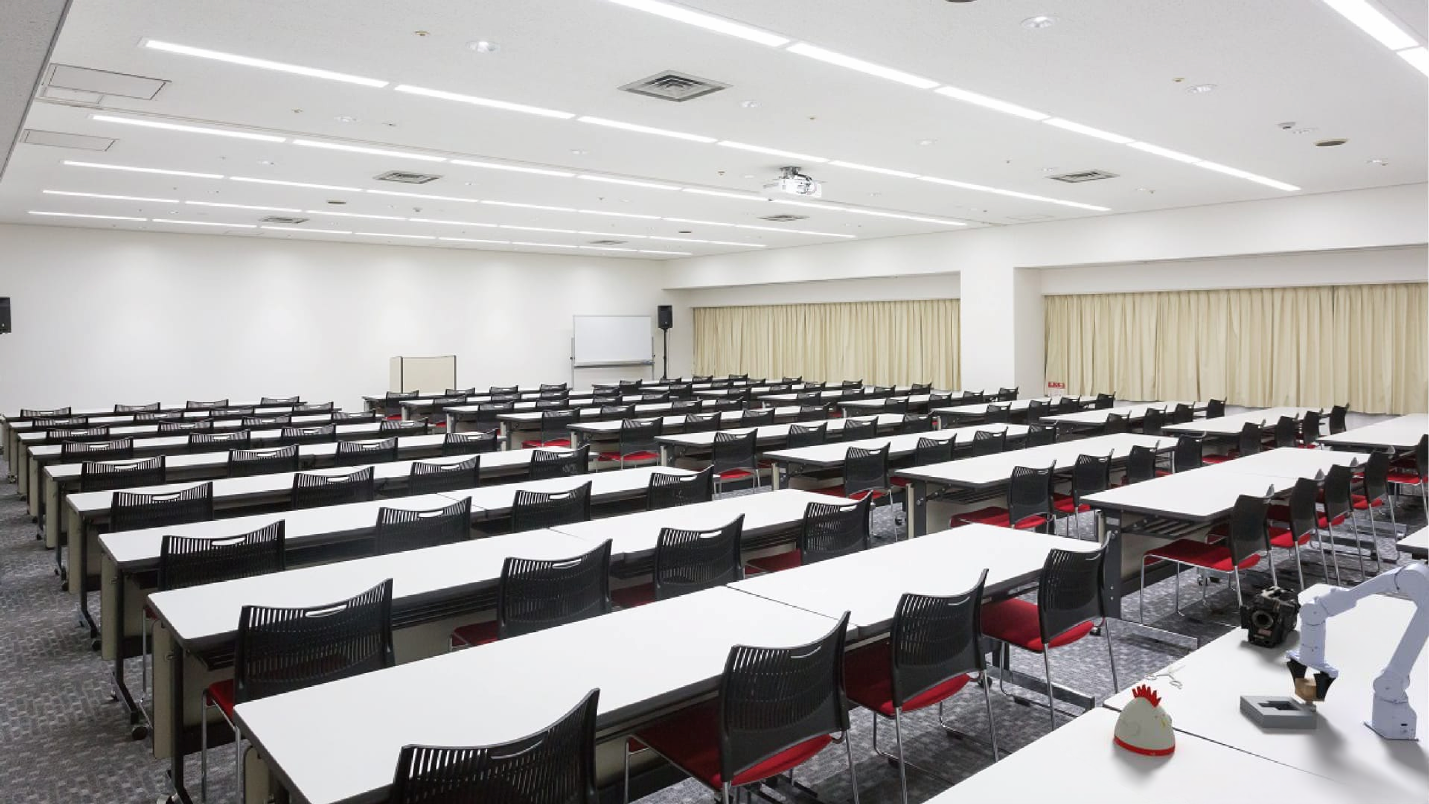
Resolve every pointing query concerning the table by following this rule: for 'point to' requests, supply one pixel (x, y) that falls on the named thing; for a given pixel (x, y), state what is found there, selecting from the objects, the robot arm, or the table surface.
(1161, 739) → the kitchen timer
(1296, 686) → the peg
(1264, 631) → the movie camera
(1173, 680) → the scissors
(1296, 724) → the square hole plate
